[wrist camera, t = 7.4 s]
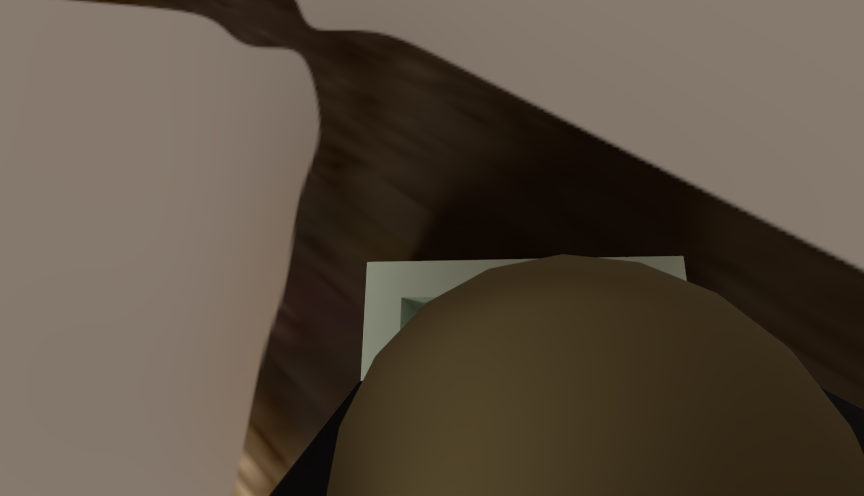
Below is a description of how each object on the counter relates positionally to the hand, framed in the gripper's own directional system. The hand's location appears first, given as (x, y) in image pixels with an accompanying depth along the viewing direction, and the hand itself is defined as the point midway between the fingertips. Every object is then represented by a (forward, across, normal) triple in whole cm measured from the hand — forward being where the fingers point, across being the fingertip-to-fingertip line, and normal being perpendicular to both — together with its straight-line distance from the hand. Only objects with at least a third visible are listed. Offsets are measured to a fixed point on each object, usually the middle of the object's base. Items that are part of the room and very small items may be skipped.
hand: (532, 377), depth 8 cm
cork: (+4, 0, +6) cm, 7 cm away
